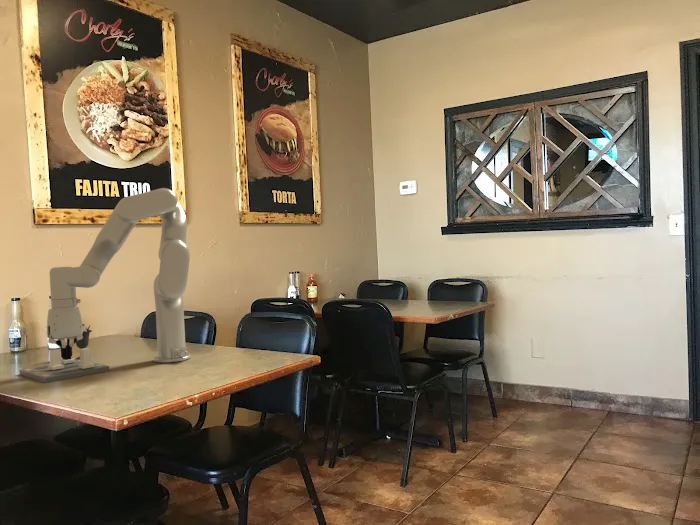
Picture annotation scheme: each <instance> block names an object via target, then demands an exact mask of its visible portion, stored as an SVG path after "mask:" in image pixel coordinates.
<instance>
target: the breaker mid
mask: <svg viewBox="0 0 700 525" xmlns="http://www.w3.org/2000/svg"><path fill="white" fill-rule="evenodd" d="M48 352H49V364H47V365H48V369H51V370H55V369H61V368H64V365H63V364H61V359H62V357H61V349H58V348H56V349H49V351H48Z"/></svg>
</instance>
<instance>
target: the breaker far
mask: <svg viewBox="0 0 700 525" xmlns="http://www.w3.org/2000/svg"><path fill="white" fill-rule="evenodd" d="M75 360H76V358H73V355H72V356H71V359H68V360H64V359H63V358H62V357H61V363H63V364H66V363H72V362H75Z"/></svg>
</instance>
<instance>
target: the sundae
mask: <svg viewBox="0 0 700 525" xmlns="http://www.w3.org/2000/svg"><path fill="white" fill-rule="evenodd" d="M82 327H83V333H82V336H83V339H81V340H78V341H76V342H75V346H76V347H77V348H78V349H79V350H80V349H83V348H88V346H89V343H90V339H89V338H90V333H91V332H93V331H92V330H91V329H90V327H91V325H89V326H87V325H86V324H84V323H82ZM79 359H80V356H78V357H76V358H75V360H79Z"/></svg>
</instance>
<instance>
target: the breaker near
mask: <svg viewBox="0 0 700 525" xmlns="http://www.w3.org/2000/svg"><path fill="white" fill-rule="evenodd" d="M79 357H80V364H78V368H82V369H85V368H90V367H94V364H93V363H92V362H93V360H92V359H93V358H92V348H90V347H86V348H83V349H80V348H79Z"/></svg>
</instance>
